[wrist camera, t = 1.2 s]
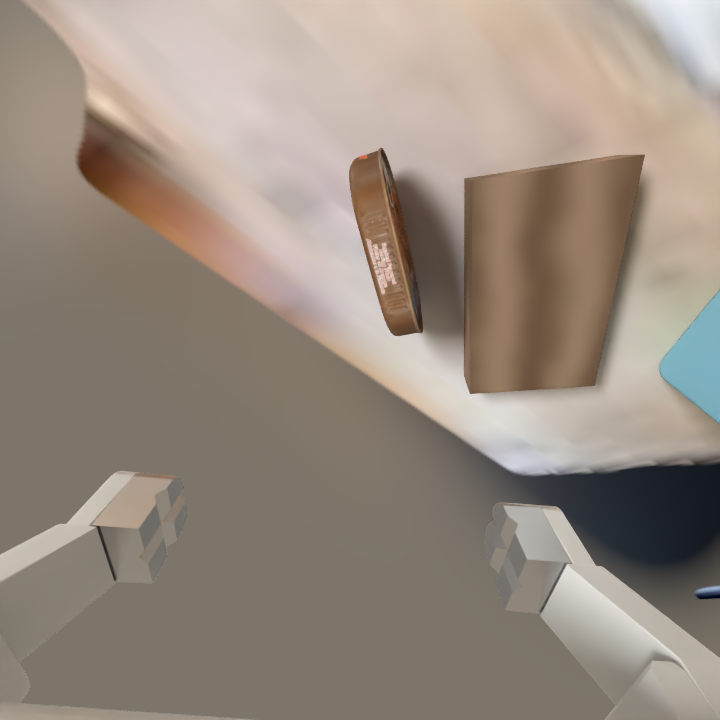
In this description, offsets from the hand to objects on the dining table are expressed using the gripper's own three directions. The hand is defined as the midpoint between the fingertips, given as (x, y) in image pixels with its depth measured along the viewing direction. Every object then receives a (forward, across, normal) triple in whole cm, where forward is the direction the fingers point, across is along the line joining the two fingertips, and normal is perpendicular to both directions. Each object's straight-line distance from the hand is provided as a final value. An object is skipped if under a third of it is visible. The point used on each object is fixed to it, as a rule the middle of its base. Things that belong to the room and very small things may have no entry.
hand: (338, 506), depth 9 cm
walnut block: (+28, -16, -1) cm, 32 cm away
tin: (+28, -3, -4) cm, 29 cm away
